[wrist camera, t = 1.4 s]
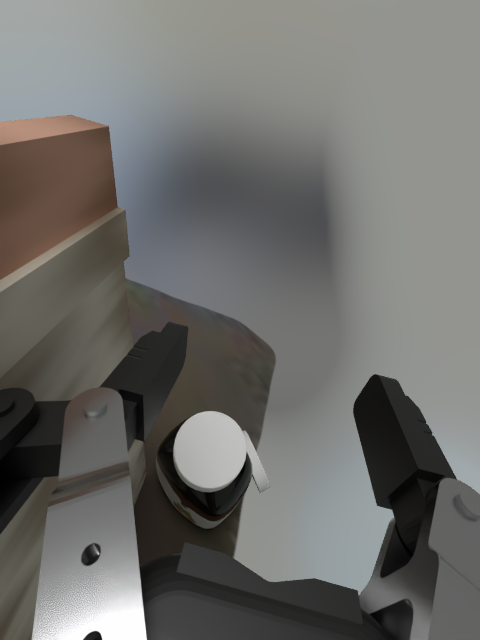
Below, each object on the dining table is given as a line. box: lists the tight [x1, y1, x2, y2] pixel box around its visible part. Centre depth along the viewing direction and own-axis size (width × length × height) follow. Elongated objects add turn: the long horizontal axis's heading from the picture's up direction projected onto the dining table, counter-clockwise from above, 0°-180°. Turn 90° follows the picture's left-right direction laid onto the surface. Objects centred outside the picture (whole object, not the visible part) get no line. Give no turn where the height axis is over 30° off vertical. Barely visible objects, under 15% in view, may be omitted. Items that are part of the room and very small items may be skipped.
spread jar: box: [156, 411, 270, 529], centre depth 29 cm, size 12×11×12 cm
